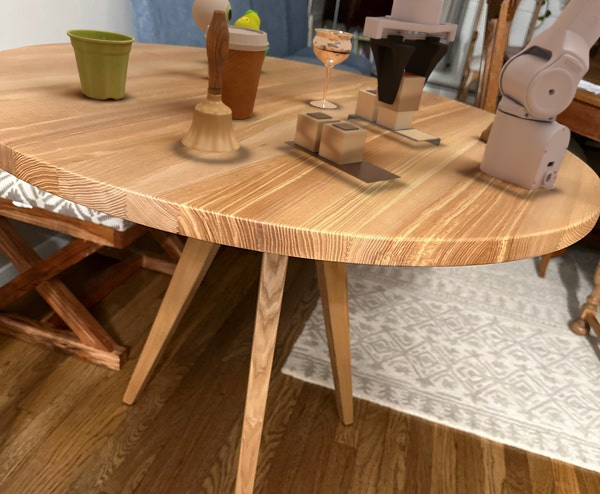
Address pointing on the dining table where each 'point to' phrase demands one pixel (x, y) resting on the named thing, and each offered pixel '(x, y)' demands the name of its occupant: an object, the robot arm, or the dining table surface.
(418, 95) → the red-topped wooden cube
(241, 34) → the disposable coffee cup
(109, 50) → the plant pot
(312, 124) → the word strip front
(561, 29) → the robot arm
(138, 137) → the dining table surface
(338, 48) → the wineglass
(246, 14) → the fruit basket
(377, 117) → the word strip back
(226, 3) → the lollipop
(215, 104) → the hand bell
